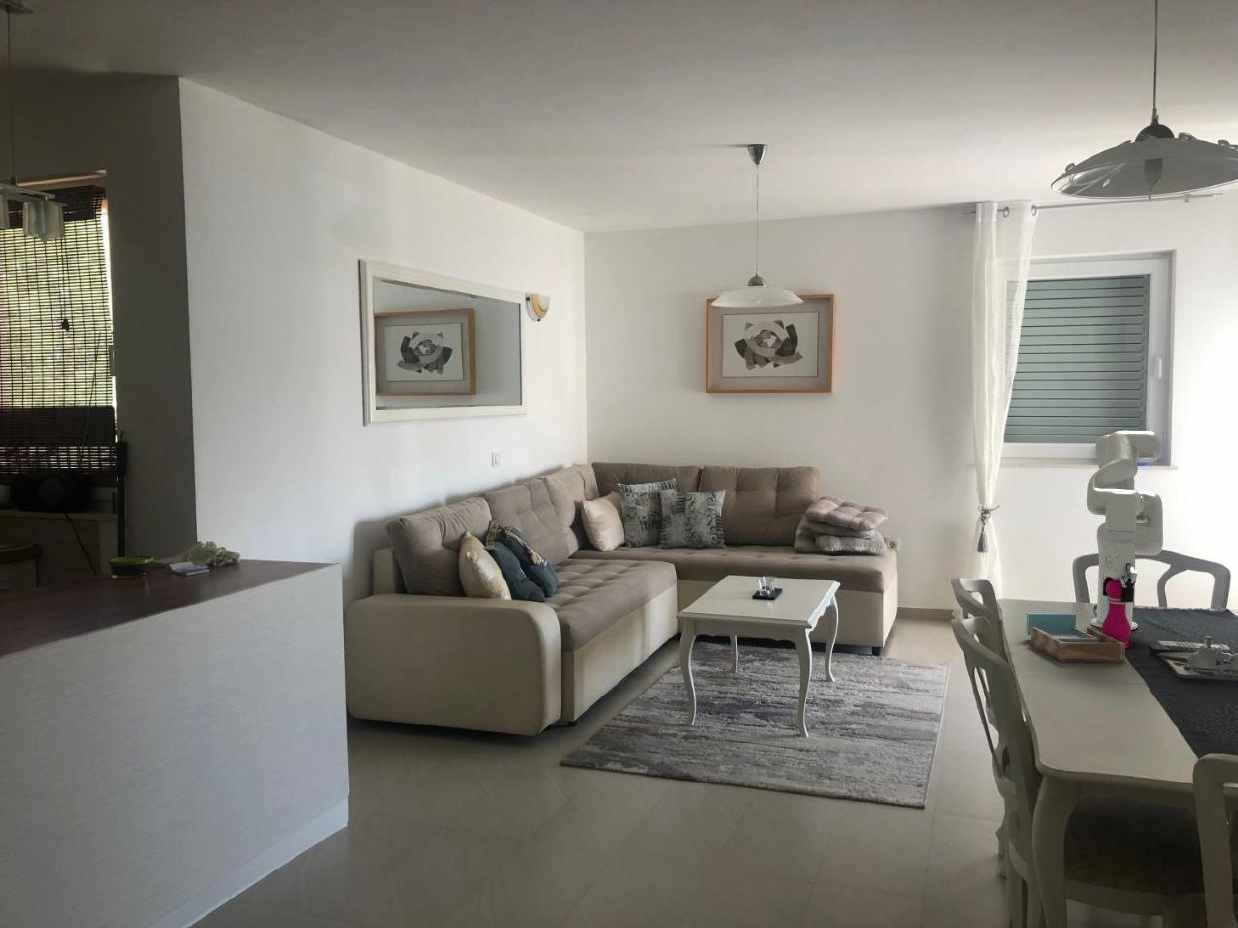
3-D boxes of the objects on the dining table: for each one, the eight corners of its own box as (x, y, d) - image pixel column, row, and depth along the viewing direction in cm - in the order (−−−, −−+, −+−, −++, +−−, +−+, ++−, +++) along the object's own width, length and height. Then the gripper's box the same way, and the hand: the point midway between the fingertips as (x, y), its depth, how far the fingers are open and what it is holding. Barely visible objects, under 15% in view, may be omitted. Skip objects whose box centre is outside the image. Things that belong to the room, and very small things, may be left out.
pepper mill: (1123, 643, 275) (1126, 572, 274) (1134, 649, 268) (1137, 576, 267) (1096, 642, 276) (1099, 571, 275) (1107, 648, 269) (1109, 576, 268)
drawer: (1026, 633, 279) (1027, 612, 279) (1072, 634, 279) (1073, 613, 279) (1050, 647, 263) (1051, 625, 263) (1100, 648, 263) (1101, 626, 263)
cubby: (1031, 644, 272) (1031, 627, 272) (1090, 645, 272) (1091, 627, 272) (1060, 662, 254) (1061, 643, 254) (1124, 662, 254) (1125, 643, 254)
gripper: (1091, 532, 279) (1088, 593, 279) (1122, 540, 261) (1119, 604, 262) (1117, 533, 279) (1115, 593, 279) (1150, 540, 261) (1148, 604, 262)
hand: (1117, 598), depth 271 cm, fingers open, 9 cm apart
